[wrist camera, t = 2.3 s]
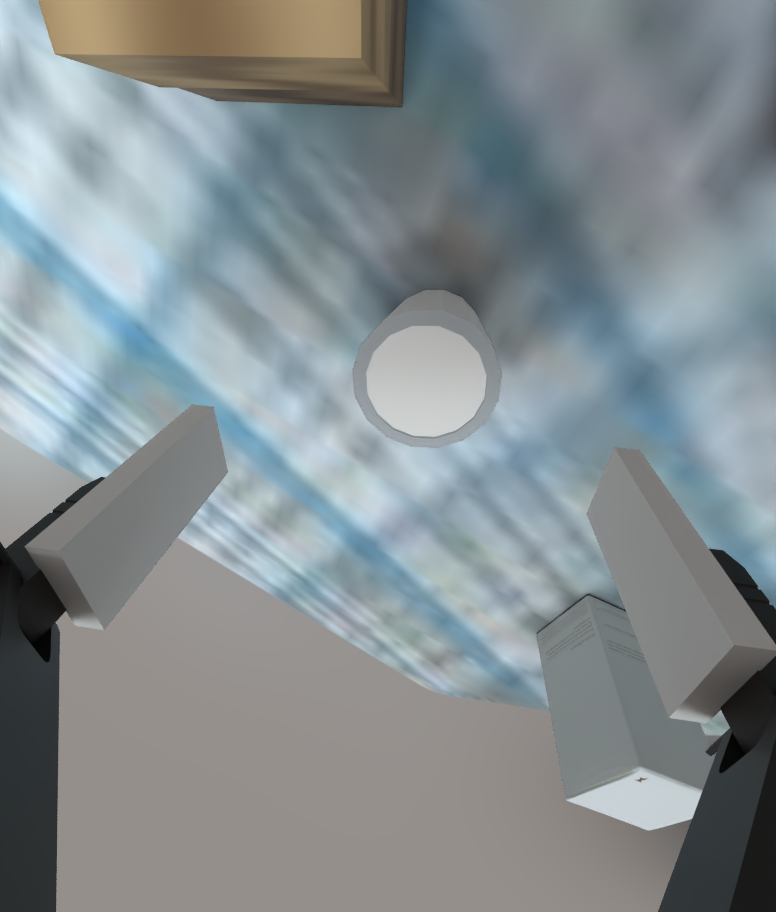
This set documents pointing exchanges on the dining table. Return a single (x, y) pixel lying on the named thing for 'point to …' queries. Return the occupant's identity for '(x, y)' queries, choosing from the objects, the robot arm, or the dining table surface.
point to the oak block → (229, 42)
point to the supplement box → (617, 722)
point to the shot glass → (428, 372)
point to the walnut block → (334, 97)
